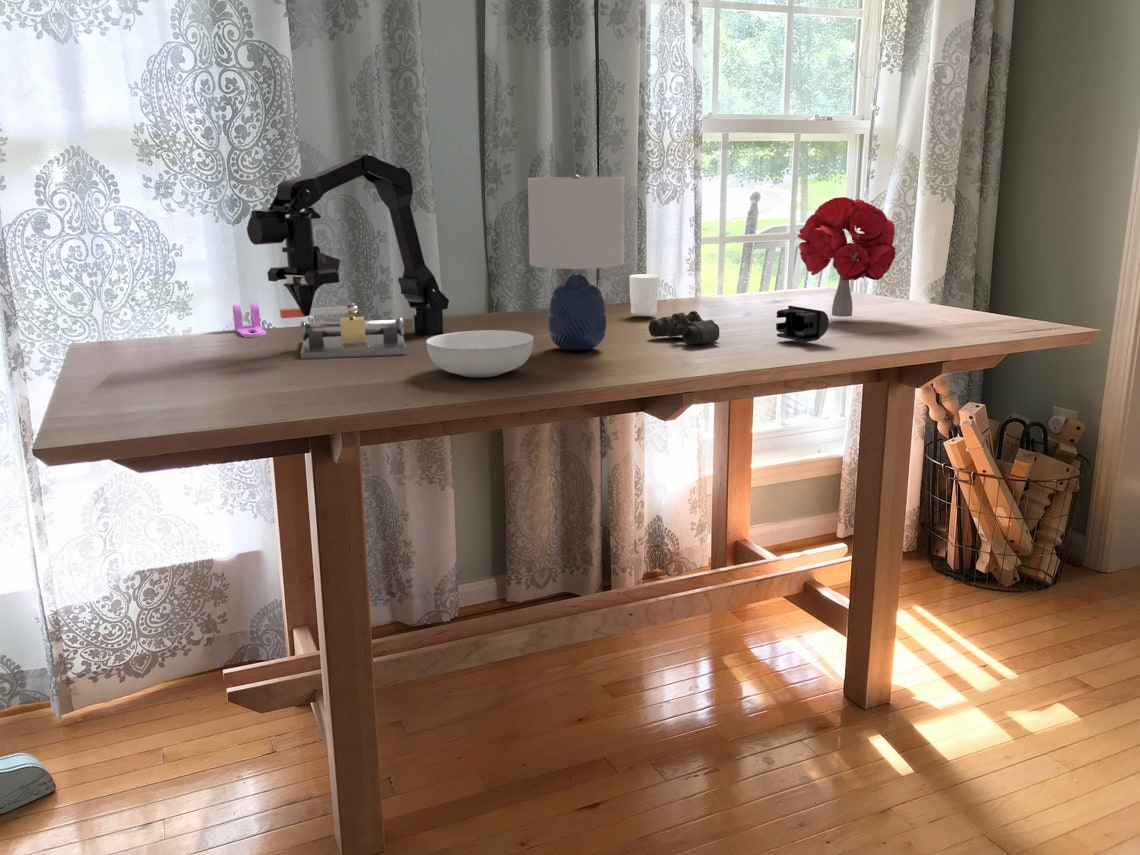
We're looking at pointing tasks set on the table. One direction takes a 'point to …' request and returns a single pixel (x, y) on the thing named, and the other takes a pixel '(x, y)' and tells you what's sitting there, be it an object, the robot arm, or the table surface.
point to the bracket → (255, 321)
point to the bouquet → (848, 245)
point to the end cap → (802, 324)
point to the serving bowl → (480, 352)
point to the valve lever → (318, 311)
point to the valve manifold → (353, 338)
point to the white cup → (644, 293)
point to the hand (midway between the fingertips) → (306, 316)
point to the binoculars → (685, 328)
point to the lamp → (576, 249)
